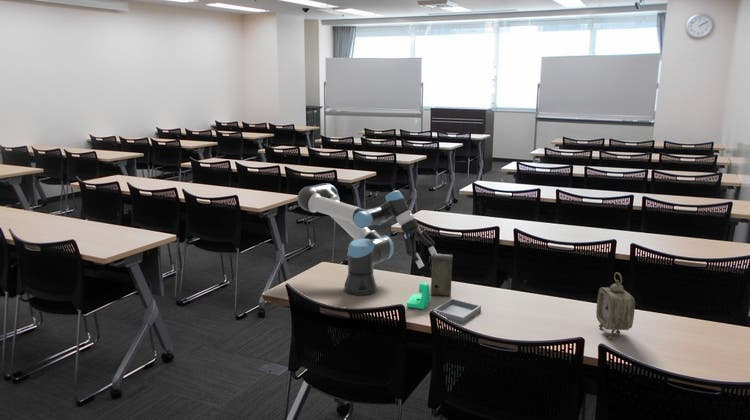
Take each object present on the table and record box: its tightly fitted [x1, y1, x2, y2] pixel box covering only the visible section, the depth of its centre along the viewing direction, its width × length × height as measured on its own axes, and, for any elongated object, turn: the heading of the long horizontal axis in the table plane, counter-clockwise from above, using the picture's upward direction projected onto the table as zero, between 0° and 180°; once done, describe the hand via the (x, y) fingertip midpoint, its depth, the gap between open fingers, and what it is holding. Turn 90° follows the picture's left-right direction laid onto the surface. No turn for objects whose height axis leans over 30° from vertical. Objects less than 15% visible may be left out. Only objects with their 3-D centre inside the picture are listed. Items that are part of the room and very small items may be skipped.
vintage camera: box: [430, 253, 453, 297], centre depth 262 cm, size 10×15×20 cm, turn 174°
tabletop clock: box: [595, 271, 636, 340], centre depth 217 cm, size 14×9×25 cm, turn 178°
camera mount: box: [406, 282, 431, 310], centre depth 245 cm, size 12×8×10 cm, turn 161°
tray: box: [432, 298, 482, 324], centre depth 238 cm, size 14×16×2 cm
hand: (429, 263), depth 254 cm, fingers open, 13 cm apart
